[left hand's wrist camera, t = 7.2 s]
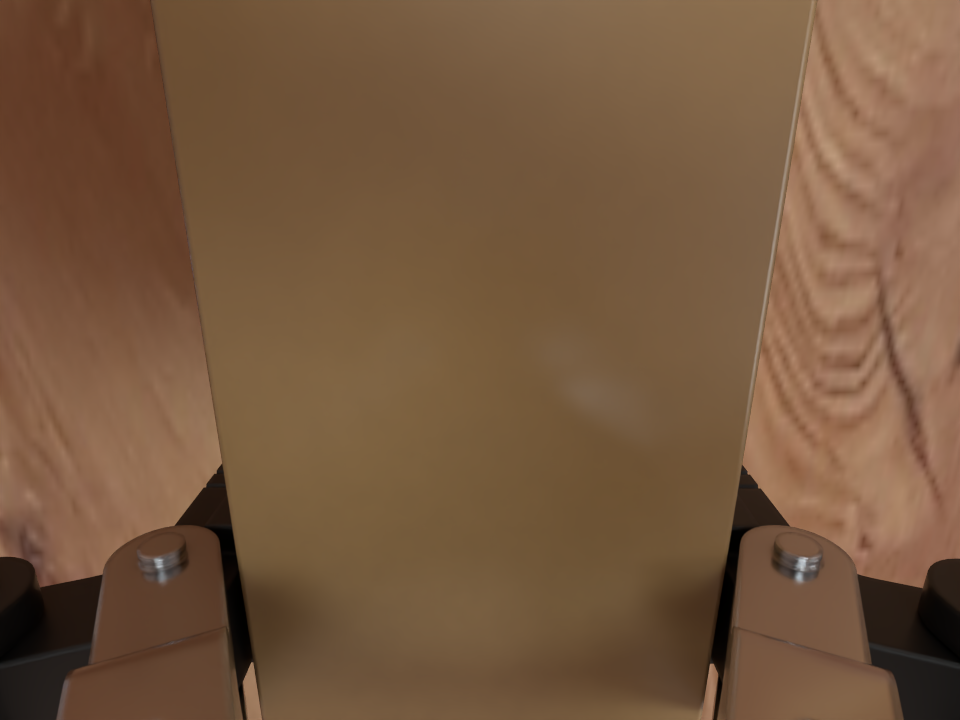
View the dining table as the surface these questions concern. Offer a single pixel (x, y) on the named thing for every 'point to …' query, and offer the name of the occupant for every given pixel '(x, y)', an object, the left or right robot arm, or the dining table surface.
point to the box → (482, 335)
